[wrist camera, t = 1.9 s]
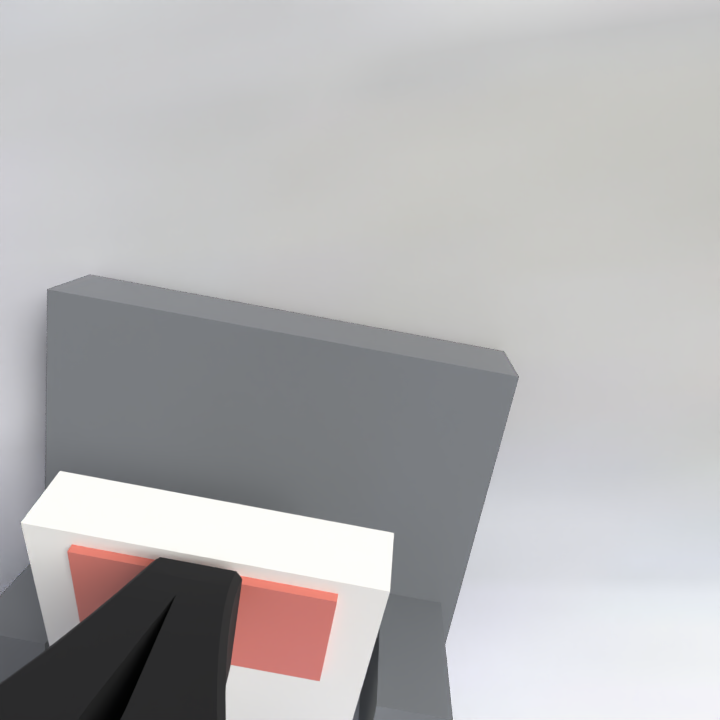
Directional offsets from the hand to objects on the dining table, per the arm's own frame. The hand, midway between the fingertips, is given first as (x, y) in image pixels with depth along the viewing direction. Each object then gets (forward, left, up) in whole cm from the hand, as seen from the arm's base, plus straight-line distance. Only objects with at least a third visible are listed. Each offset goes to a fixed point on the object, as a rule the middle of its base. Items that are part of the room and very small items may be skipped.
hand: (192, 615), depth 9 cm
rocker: (-5, 0, -2) cm, 5 cm away
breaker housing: (-5, 0, -8) cm, 9 cm away
